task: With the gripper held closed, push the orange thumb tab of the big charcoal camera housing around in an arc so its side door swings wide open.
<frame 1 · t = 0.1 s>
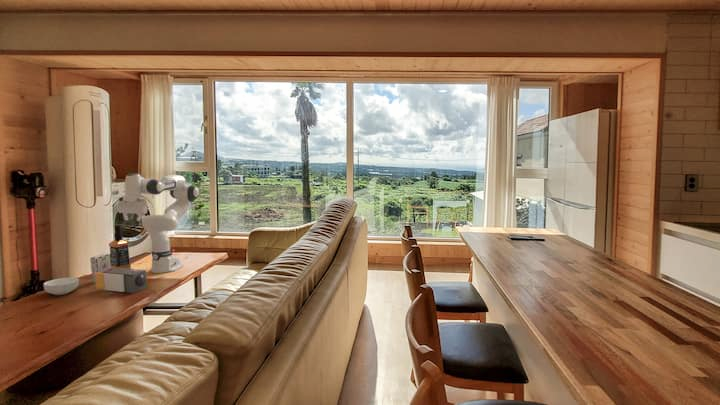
hand: (132, 220, 260), 39 cm above the table, tool pointing down, fingers open, 8 cm apart
side door: (109, 282, 242), point 5 cm above the table, hinge at 0.0°
cereal bowl: (62, 293, 240), on the table
whiskey bottle: (120, 270, 286), on the table
camera housing: (126, 288, 247), on the table
candy bar box: (102, 280, 263), on the table
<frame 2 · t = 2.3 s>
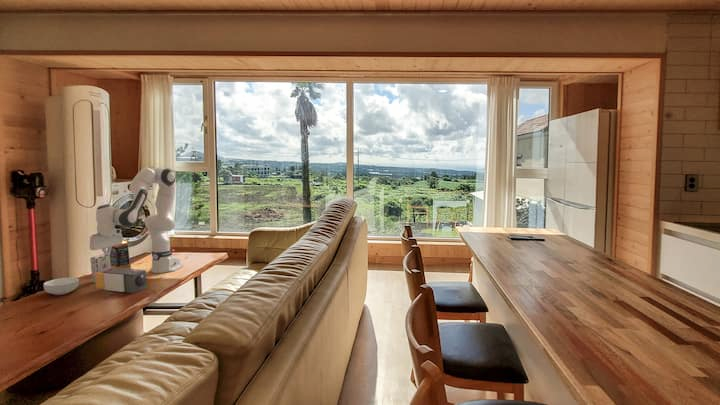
hand: (107, 254, 248), 20 cm above the table, tool pointing down, fingers closed
nothing on the table moved.
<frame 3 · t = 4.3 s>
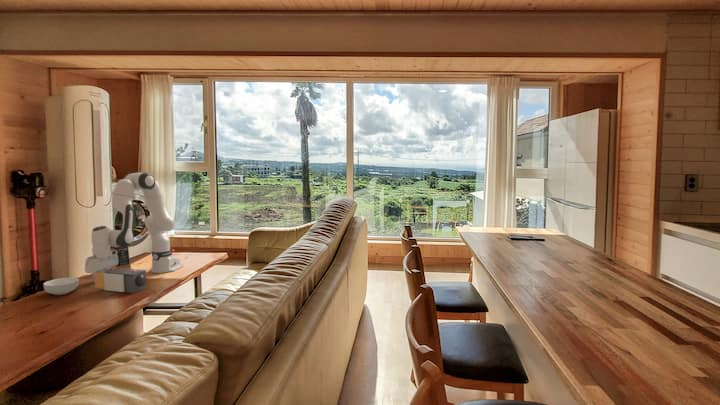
hand: (102, 276, 246), 8 cm above the table, tool pointing down, fingers closed
side door: (109, 282, 242), point 5 cm above the table, hinge at 1.4°, touching gripper
everything else where it was.
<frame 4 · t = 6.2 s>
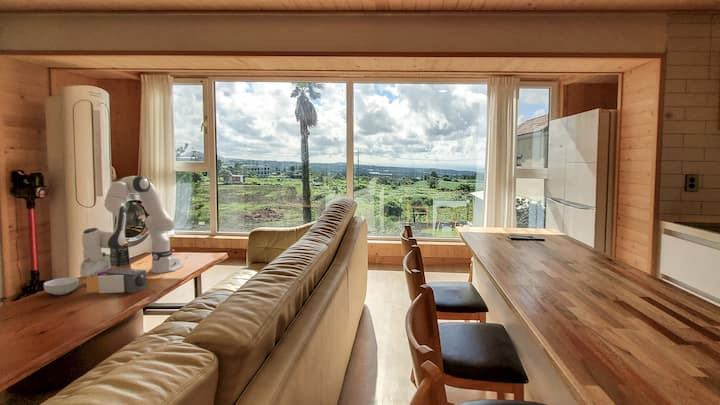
hand: (94, 279, 239), 8 cm above the table, tool pointing down, fingers closed
side door: (105, 284, 238), point 5 cm above the table, hinge at 23.8°, touching gripper
everything else where it was.
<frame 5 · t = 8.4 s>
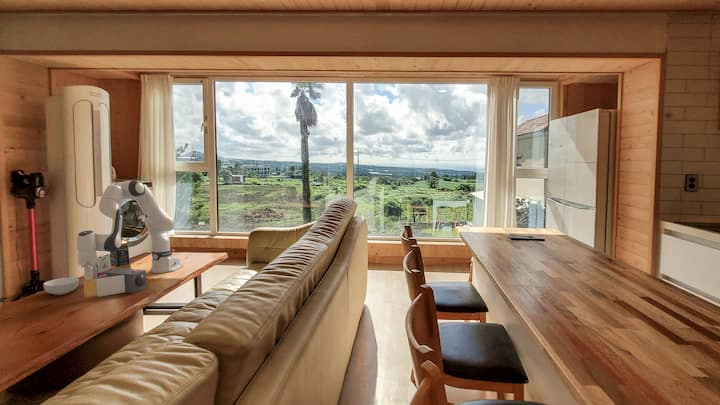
hand: (89, 284, 231), 8 cm above the table, tool pointing down, fingers closed
side door: (104, 286, 233), point 5 cm above the table, hinge at 51.5°, touching gripper
everything else where it was.
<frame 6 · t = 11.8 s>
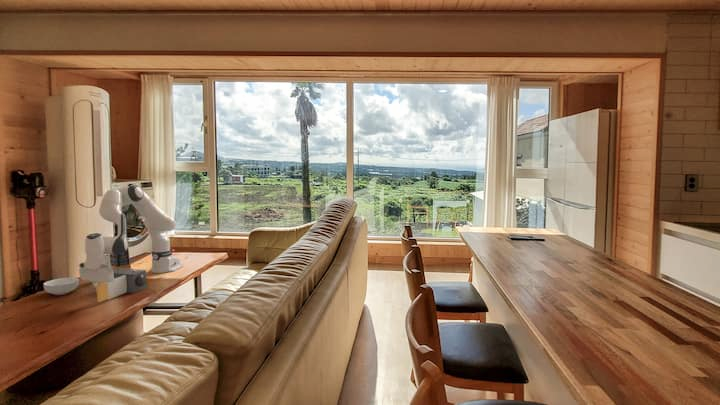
hand: (97, 288, 223), 8 cm above the table, tool pointing down, fingers closed
side door: (112, 288, 230), point 5 cm above the table, hinge at 92.9°, touching gripper
everything else where it was.
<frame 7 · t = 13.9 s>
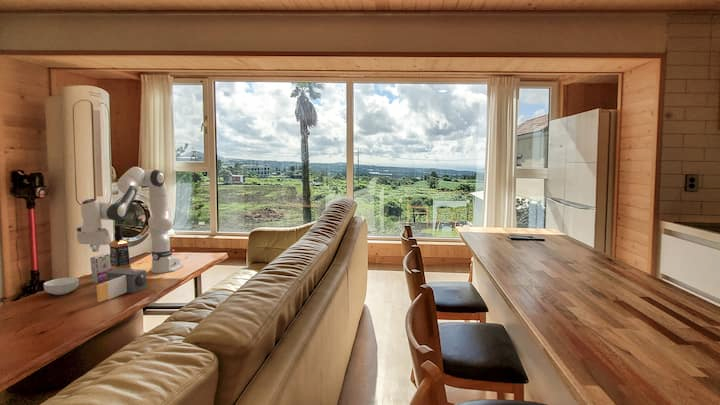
hand: (95, 251, 234), 25 cm above the table, tool pointing down, fingers closed
side door: (112, 288, 230), point 5 cm above the table, hinge at 93.0°
everything else where it was.
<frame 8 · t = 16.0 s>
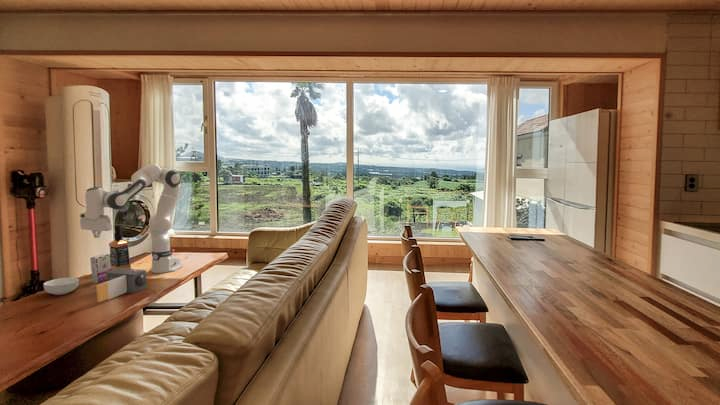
hand: (97, 237, 245), 31 cm above the table, tool pointing down, fingers closed
nothing on the table moved.
at the end: side door at +93° (first picture: +0°) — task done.
